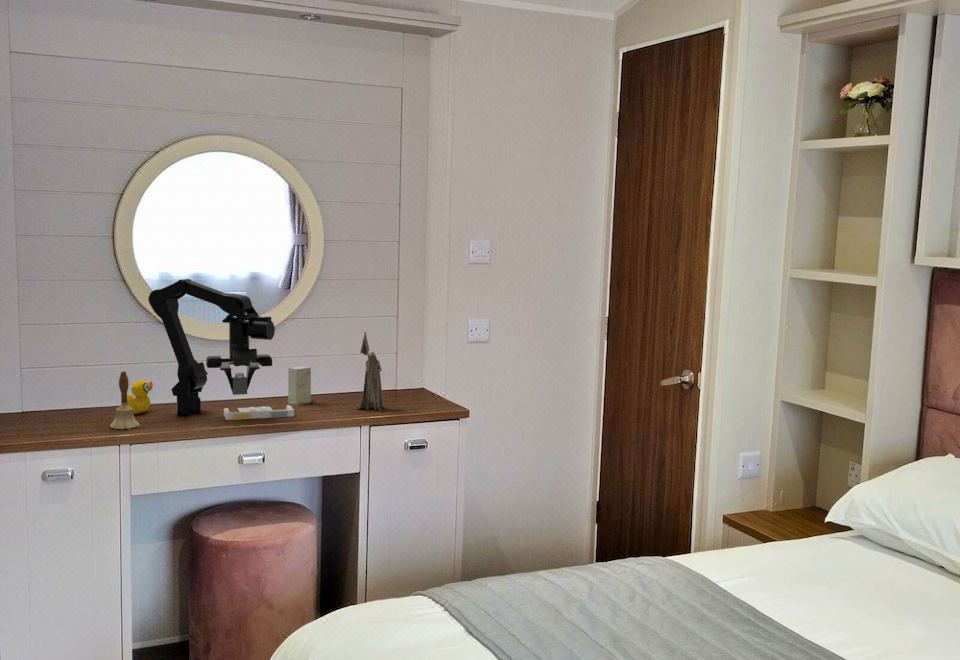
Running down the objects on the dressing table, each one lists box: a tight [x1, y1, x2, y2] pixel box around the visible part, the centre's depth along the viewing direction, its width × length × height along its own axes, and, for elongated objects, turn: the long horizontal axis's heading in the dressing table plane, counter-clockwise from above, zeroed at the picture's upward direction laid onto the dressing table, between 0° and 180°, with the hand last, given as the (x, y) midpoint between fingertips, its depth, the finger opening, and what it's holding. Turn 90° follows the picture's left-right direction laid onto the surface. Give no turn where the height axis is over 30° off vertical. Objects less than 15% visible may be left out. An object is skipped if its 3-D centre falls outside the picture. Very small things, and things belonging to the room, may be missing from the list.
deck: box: [237, 406, 273, 412], centre depth 294 cm, size 10×7×1 cm
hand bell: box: [109, 370, 141, 429], centre depth 269 cm, size 8×8×16 cm
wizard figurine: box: [354, 331, 386, 412], centre depth 300 cm, size 10×8×25 cm
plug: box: [231, 372, 248, 396], centre depth 283 cm, size 4×4×6 cm
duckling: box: [127, 379, 154, 415], centre depth 288 cm, size 11×5×10 cm, turn 158°
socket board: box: [223, 404, 295, 421], centre depth 284 cm, size 20×11×2 cm, turn 110°
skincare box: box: [287, 365, 312, 406], centre depth 306 cm, size 6×4×12 cm
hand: (239, 389), depth 284 cm, fingers closed on plug, 4 cm apart
